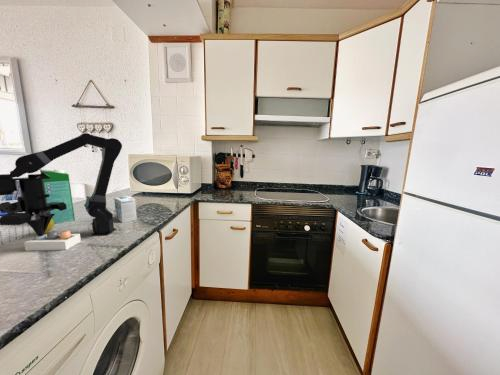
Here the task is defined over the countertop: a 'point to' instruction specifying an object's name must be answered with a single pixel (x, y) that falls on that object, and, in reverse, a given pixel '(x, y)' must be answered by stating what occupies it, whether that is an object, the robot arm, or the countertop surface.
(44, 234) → the slate button
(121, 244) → the countertop surface
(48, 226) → the lemon
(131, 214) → the light bulb box
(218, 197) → the countertop surface
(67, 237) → the terracotta button
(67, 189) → the milk carton
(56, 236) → the charcoal button
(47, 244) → the frame
